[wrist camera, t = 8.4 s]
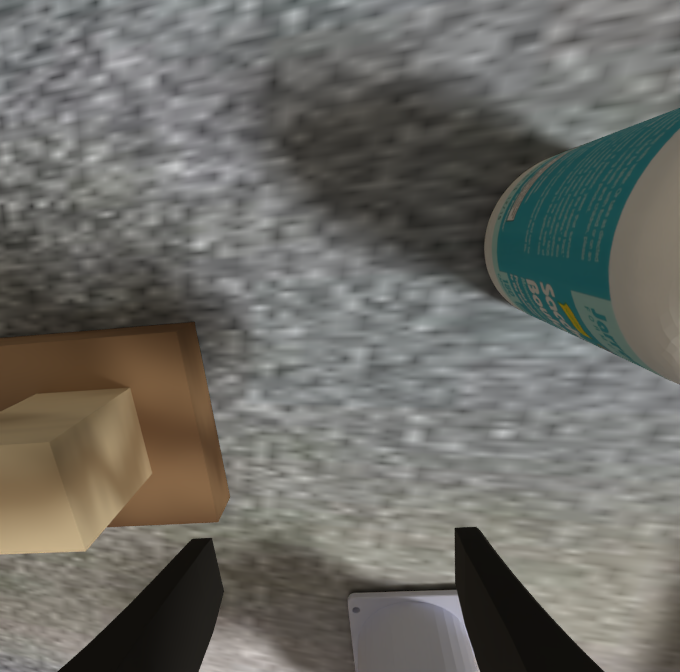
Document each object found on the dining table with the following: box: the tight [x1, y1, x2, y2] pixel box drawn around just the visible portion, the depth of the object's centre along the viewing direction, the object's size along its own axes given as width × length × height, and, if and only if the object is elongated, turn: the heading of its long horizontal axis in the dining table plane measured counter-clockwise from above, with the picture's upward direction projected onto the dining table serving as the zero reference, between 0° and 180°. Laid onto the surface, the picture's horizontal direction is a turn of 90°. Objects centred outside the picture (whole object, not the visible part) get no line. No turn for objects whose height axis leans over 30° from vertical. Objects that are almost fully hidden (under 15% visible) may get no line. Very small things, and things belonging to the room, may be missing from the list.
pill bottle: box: [484, 108, 680, 384], centre depth 11 cm, size 8×7×14 cm
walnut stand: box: [0, 322, 230, 527], centre depth 20 cm, size 11×11×2 cm
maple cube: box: [0, 388, 152, 554], centre depth 17 cm, size 5×5×5 cm
